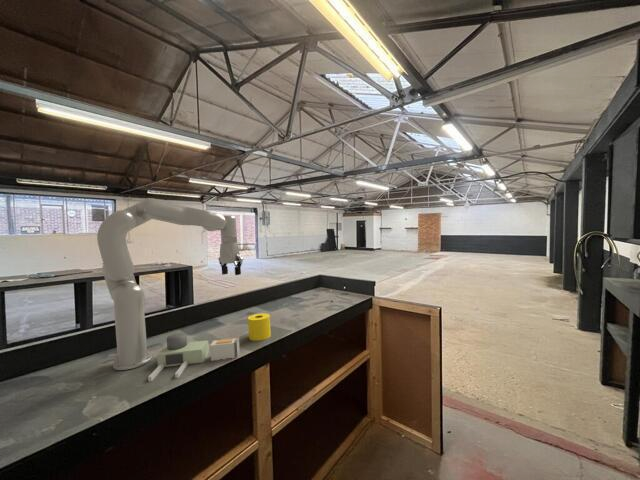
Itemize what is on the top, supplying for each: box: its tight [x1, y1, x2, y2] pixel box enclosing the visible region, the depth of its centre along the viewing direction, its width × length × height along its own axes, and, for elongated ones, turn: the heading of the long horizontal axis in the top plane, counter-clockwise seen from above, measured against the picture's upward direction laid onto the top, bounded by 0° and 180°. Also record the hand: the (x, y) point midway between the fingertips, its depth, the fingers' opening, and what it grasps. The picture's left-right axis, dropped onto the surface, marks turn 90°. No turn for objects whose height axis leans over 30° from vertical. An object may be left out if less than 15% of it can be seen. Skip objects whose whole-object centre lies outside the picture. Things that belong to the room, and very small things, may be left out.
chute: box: [209, 337, 241, 362], centre depth 107 cm, size 10×5×6 cm, turn 98°
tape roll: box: [247, 313, 272, 342], centre depth 126 cm, size 10×10×9 cm
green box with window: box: [147, 332, 210, 382], centre depth 101 cm, size 16×20×9 cm
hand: (231, 274), depth 134 cm, fingers open, 9 cm apart
